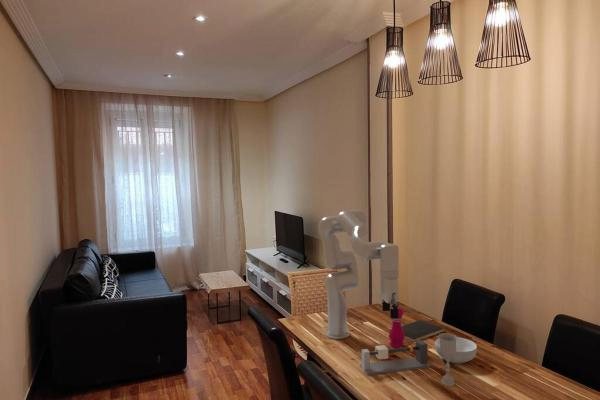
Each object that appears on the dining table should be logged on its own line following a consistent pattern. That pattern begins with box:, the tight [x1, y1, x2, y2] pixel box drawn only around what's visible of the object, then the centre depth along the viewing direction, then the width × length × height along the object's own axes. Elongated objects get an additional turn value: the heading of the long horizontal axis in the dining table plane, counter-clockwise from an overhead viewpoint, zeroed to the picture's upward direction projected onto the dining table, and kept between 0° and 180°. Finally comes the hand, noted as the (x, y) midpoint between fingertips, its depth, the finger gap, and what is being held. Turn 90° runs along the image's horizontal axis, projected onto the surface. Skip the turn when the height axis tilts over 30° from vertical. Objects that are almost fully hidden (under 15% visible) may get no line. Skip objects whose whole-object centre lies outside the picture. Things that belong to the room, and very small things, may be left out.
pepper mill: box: [388, 306, 405, 349], centre depth 196 cm, size 7×7×20 cm
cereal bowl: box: [434, 336, 478, 365], centre depth 181 cm, size 17×17×7 cm
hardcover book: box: [389, 319, 445, 343], centre depth 213 cm, size 16×23×2 cm
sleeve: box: [374, 344, 389, 360], centre depth 174 cm, size 4×4×4 cm
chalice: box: [438, 332, 458, 387], centre depth 161 cm, size 7×7×18 cm
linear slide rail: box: [359, 339, 432, 376], centre depth 175 cm, size 8×28×9 cm, turn 102°
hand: (390, 314), depth 174 cm, fingers open, 9 cm apart
